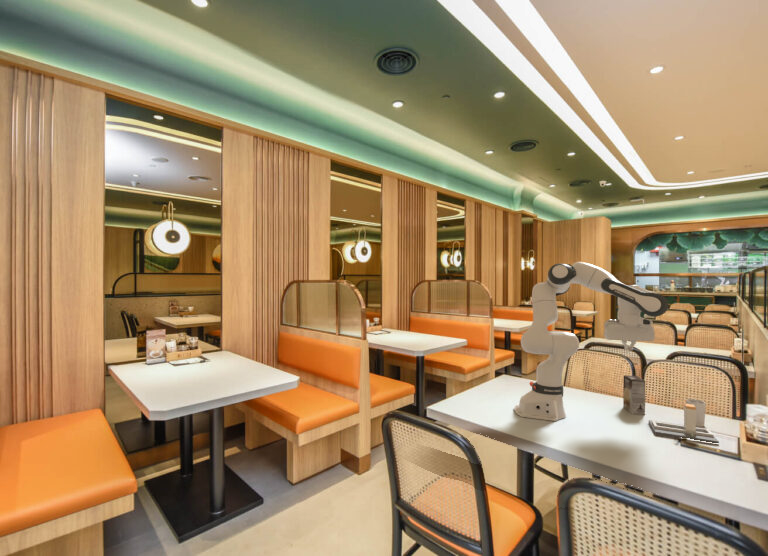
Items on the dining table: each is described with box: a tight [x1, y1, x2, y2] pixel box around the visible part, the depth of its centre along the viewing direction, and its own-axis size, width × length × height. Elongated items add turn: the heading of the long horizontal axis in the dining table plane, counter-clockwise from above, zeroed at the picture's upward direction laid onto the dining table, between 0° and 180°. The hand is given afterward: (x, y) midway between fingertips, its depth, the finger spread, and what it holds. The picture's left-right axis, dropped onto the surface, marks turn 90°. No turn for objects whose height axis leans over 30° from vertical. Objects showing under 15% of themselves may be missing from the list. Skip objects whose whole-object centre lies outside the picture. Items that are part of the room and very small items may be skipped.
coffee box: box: [622, 375, 646, 415], centre depth 180 cm, size 9×6×16 cm
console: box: [648, 419, 720, 443], centre depth 154 cm, size 20×14×2 cm
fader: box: [683, 403, 697, 431], centre depth 152 cm, size 3×4×10 cm
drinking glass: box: [685, 398, 707, 427], centre depth 164 cm, size 7×7×10 cm
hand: (628, 350), depth 172 cm, fingers closed
